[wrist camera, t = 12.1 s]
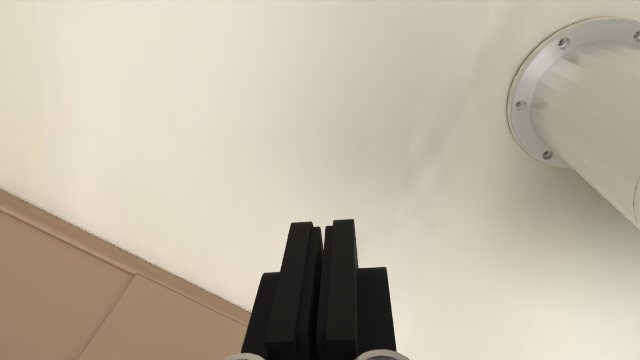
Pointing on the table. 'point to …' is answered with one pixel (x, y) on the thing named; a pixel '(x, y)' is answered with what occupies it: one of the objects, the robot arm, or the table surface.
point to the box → (99, 299)
